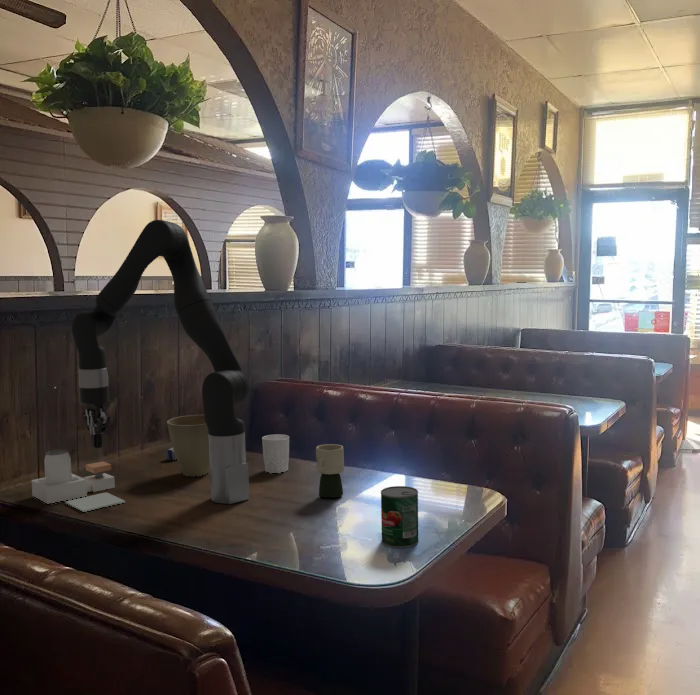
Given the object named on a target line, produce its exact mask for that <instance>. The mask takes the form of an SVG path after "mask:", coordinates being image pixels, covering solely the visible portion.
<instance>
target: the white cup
mask: <svg viewBox="0 0 700 695" xmlns="http://www.w3.org/2000/svg"><path fill="white" fill-rule="evenodd" d="M261 442H262V454H263V463H264V468H265V470H264V471H265V473H267V472H269V473H268V474H272V473H278V474H282V473H281V472H284V473H286V472H285V471H287V470H288V471H289V462H290V461H289V460H290V459H289V458H290V436H289V435H287V434H281V433H279V434H275V433H274V434H267V435H264V436H262V437H261ZM288 471H287V472H288Z"/></svg>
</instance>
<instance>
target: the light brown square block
mask: <svg viewBox="0 0 700 695" xmlns="http://www.w3.org/2000/svg"><path fill="white" fill-rule="evenodd" d="M85 470H86V471H87V472H90V473H92V474H94V475H95V478H96V479H99V478H103V472H107V471H108V472H109V471H112V464H111V463H108V462H106V461H104V460H103V461H99V462H93V463H88V464H87V463H86V464H85Z"/></svg>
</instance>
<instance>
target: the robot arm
mask: <svg viewBox="0 0 700 695" xmlns="http://www.w3.org/2000/svg"><path fill="white" fill-rule="evenodd" d="M190 245H191V244H190V241H189V238H188V234H187V233H186V231H185V230H184V229H183V227H182V226H180V224H178V223H176V222H175V223H174V222H171V221H168V220H164V219H154V220H151V221H149V222H148V223H147V224H146V225H145V226H144V228H142V230H141V232H140V234H139V236H138V237H137V239H136V241H135V243H134V244H133V246H132V248H131V249H130V251H129V253H128V254H127V255H126V258H125V259H124V261H123V262H122V264H121V265H120V266H119V268H118V270H117V271H116V272H115V274H114V275H113V276H112V277H111V279H110V280H109V281H108V282H107V283H106V284H105V285H104V287H103V288H102V289H101V290H100V292H98V295H97V296H96V297H95V304H96V305H95V307H94V308H93V309H92V310H90V311H87V310H86V311H81V312H79V313H77V314H75V316H74V317H73V319H72V322H71V334H72V337H73V340H74V344H75V347H76V350H77V352H78V366H79V367H78V368H79V370H78V371H79V372H78V385H79V402H80V403H81V404H84V405H85V411H84V410H83V411H81V416H82V419H83V421H84V424H85V427H86V430H87V431H88V432H89V433H90V434H89V435H91V447H92V448H94V449H101V448H103V438H102V437H103V436H102V434H105V433H106V431H107V428H108V425H109V422H110V420H111V418H110V415H106V409H105V408H106V407H105V403H107V402H109V401H110V391H109V389H110V388H109V386H110V385H109V375H108V368H107V367H108V366H107V352H106V349H105V348H104V347H103V346H101V345H99V342H98V337H100V336H103V335H104V334H106V333H107V332H108V331H109V330H110V329H111V327H112V326H113V324H114V322H115V321H116V319H117V317H118V315H119V312H120V311H121V310H122V309H123V308H124V307H125V306H126V304H127V303H128V302H129V301H130V300H131V298H132V297H133V296H134V295H135V293H136V291H137V289H138V286H139V284H140V281H141V278H142V275H144V272H146V269H147V268H148V266H149V265H151V264H152V263H153V262H154V261H155V260H156V259H157V258H158V257H163V259H164V261H165V263H166V264H167V266H168V269H169V271H170V274H171V277H172V280H173V302H174V304H173V305H174V308H175V311H176V314H177V316H178V318H179V321H180V323H181V327H182V328H183V330H184V332H185V333H186V334H187V336H188V337H189V338H190V339H191V341H193V343H194V344H195V345H197V347H199V349H200V350H201V351H202V352H203V353H204V354H205V355H206V357H207V358H208V360H209V362H210V363H211V366H212V369H213V371H212V372H210V373H209V374H207V375H206V376H205V377H204V379H203V382H202V385H201V386H202V389H201V399H202V400H201V401H202V410H203V415H204V419H205V423H206V425H207V427H208V438H209V462H210V471H209V482H210V483H209V485H210V499H211V500H210V501H212V502H213V503H216V504H217V503H218V504H226V505H232V504H236V503H240V502H243V501H247V500H250V487H249V486H250V485H249V464H248V463H247V460H246V458H247V455H246V451H247V450H246V431H245V430H246V429H245V421H244V420H243V419H240V418H237V417H236V415H235V408H234V405H237V404H240V403H242V402H244V401H245V400H247V398H248V395H249V392H250V385H249V381H248V378H247V376H246V374H245V371H244V370H243V367H242V366H241V364H240V363H239V360H238V358H237V357H236V355H235V352H233V349H232V347H231V344H230V343H229V341H228V338H227V335H226V334H225V331H224V329H223V326H222V325H221V322H220V321H219V317H218V314H217V312H216V309H215V307H214V305H213V302H212V300H211V297H210V295H209V293H208V291H207V288H206V286H205V283H204V282H203V278H202V276H201V274H200V272H199V269H198V267H197V264H196V262H195V258H194V255H193V252H192V248H191V246H190Z"/></svg>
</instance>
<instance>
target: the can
mask: <svg viewBox="0 0 700 695" xmlns="http://www.w3.org/2000/svg"><path fill="white" fill-rule="evenodd" d="M43 465H44V478H45V480H46V485H48V486H52V485H57V484H62V483H66V482H71V481H72V474H73V473H72V460H71V455H70V454H69V450H68V449H54V450H53V449H52V450H49V451H46V452H45V456H44V464H43Z"/></svg>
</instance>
